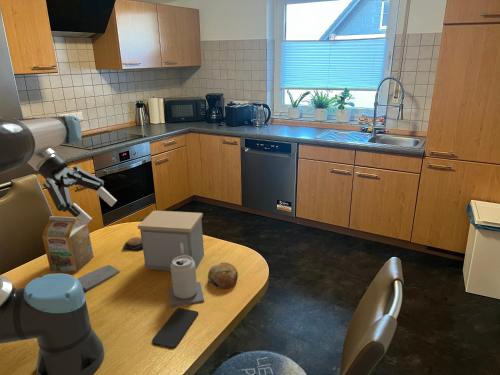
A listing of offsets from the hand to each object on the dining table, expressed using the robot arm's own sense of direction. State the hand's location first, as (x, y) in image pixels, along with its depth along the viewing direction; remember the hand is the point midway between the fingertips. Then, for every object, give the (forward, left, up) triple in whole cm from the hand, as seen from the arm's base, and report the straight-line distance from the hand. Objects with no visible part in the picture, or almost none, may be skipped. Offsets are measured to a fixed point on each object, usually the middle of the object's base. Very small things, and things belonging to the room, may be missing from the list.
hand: (102, 212), depth 112 cm
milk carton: (+22, +17, -28) cm, 39 cm away
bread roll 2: (+29, -5, -28) cm, 41 cm away
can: (-9, -22, -27) cm, 36 cm away
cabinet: (+12, -20, -28) cm, 36 cm away
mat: (-9, -22, -28) cm, 36 cm away
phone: (-23, -18, -28) cm, 41 cm away
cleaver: (+5, +13, -28) cm, 31 cm away
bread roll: (-4, -35, -28) cm, 45 cm away
